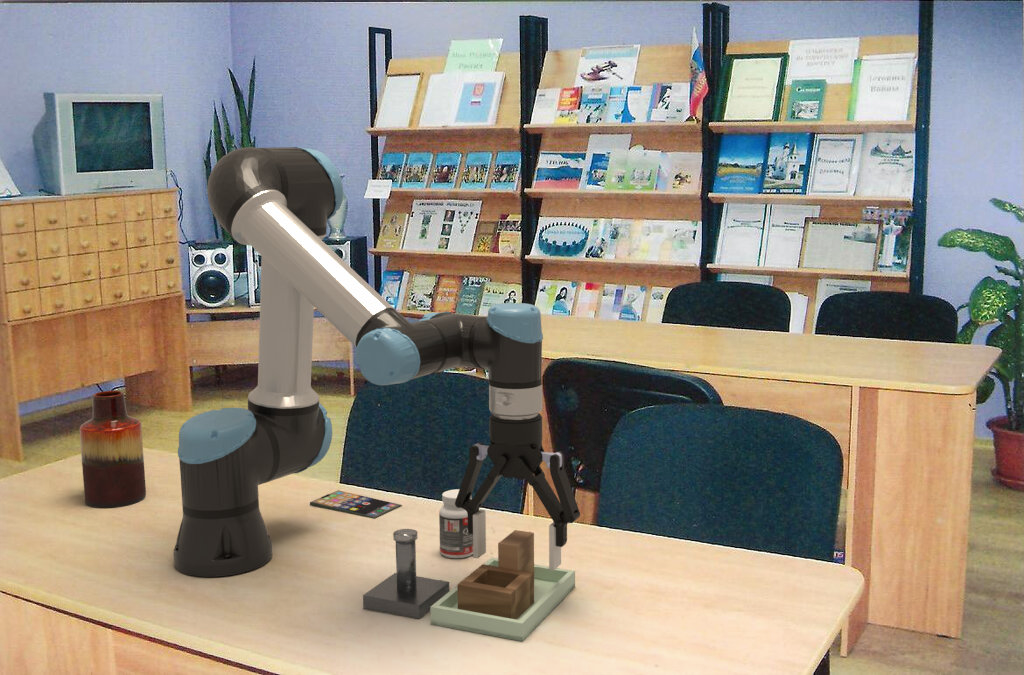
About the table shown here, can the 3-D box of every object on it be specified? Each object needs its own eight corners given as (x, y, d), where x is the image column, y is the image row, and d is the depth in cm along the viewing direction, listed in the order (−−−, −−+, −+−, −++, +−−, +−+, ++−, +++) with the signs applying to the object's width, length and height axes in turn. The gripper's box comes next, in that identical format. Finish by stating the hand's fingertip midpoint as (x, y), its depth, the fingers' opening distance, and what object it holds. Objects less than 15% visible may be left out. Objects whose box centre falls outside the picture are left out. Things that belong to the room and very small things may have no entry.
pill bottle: (470, 560, 168) (469, 500, 166) (435, 558, 169) (434, 498, 167) (478, 547, 173) (478, 489, 172) (445, 545, 174) (444, 487, 173)
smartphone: (374, 521, 188) (374, 515, 188) (309, 507, 195) (309, 501, 195) (402, 508, 195) (401, 502, 194) (338, 495, 202) (338, 489, 202)
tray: (430, 624, 145) (430, 606, 144) (491, 573, 162) (491, 557, 162) (522, 641, 139) (522, 623, 139) (575, 586, 157) (575, 570, 157)
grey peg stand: (363, 608, 150) (361, 538, 148) (395, 585, 158) (393, 519, 156) (419, 619, 146) (417, 547, 145) (449, 594, 155) (448, 527, 153)
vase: (103, 489, 206) (96, 386, 203) (156, 491, 205) (149, 387, 201) (73, 507, 195) (65, 399, 192) (128, 509, 194) (121, 400, 191)
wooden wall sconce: (511, 625, 143) (510, 568, 142) (457, 615, 146) (456, 560, 145) (550, 587, 155) (549, 534, 154) (500, 579, 159) (499, 527, 157)
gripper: (429, 411, 151) (432, 558, 155) (585, 427, 142) (584, 582, 146) (453, 400, 158) (455, 541, 162) (603, 414, 149) (602, 563, 152)
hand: (516, 560), depth 154 cm, fingers open, 11 cm apart
